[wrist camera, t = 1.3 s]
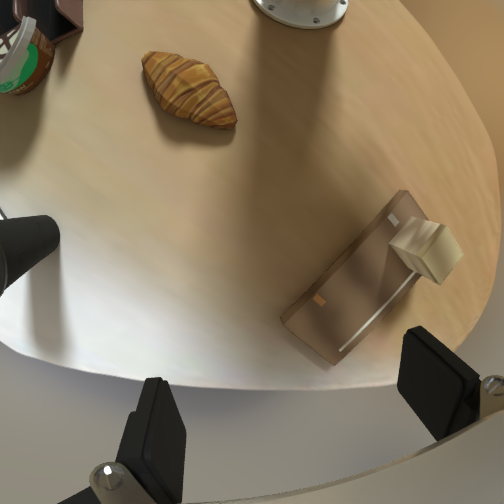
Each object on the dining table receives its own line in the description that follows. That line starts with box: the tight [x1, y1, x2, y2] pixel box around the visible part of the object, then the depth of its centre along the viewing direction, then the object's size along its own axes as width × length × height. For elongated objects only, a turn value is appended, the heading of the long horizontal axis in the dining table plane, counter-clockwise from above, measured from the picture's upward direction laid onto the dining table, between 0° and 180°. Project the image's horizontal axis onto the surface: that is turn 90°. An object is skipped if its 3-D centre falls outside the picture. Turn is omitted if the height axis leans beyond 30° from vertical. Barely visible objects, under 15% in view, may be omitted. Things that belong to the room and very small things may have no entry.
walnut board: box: [280, 190, 429, 366], centre depth 36 cm, size 22×10×2 cm, turn 137°
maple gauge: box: [389, 217, 464, 285], centre depth 31 cm, size 5×5×7 cm
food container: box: [0, 16, 55, 95], centre depth 22 cm, size 12×6×10 cm, turn 101°
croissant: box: [142, 52, 237, 130], centre depth 28 cm, size 14×7×5 cm, turn 48°
